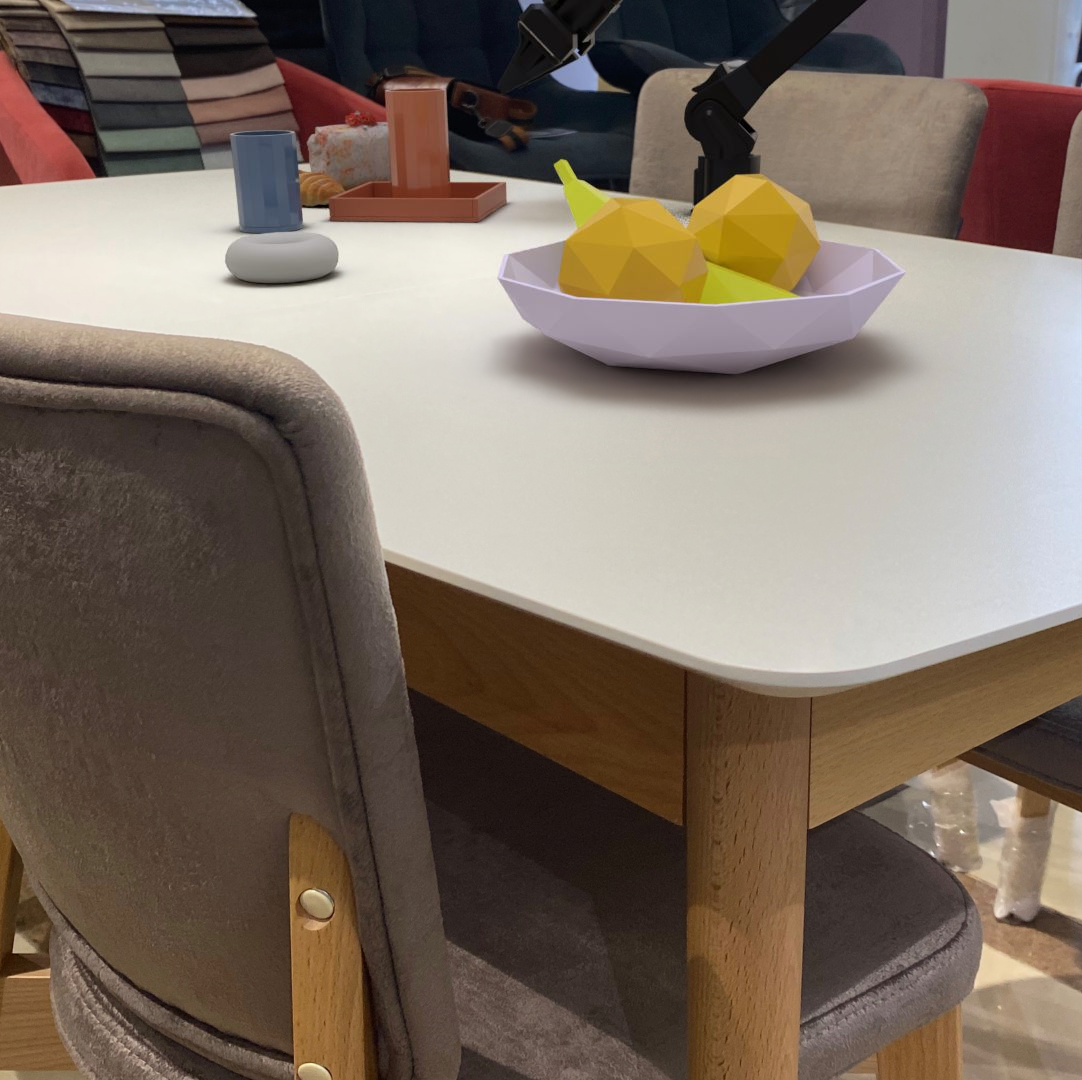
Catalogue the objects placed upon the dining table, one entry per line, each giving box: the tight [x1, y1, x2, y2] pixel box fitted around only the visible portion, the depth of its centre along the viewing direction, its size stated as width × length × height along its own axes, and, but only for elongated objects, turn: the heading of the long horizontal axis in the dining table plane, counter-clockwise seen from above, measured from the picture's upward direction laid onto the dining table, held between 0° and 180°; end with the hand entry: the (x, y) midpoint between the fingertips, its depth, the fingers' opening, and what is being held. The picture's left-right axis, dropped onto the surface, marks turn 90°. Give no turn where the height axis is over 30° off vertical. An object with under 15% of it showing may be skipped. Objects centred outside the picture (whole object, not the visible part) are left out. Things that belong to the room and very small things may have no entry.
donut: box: [224, 231, 340, 284], centre depth 115 cm, size 10×4×10 cm
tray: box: [328, 181, 508, 223], centre depth 151 cm, size 17×15×2 cm
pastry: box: [299, 169, 345, 208], centre depth 159 cm, size 9×7×4 cm
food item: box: [306, 110, 390, 191], centre depth 170 cm, size 14×8×10 cm, turn 110°
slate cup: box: [229, 129, 304, 234], centre depth 140 cm, size 7×7×10 cm
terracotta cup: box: [384, 87, 451, 198], centre depth 149 cm, size 7×7×13 cm
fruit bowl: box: [497, 158, 907, 376], centre depth 87 cm, size 28×27×11 cm
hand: (508, 88), depth 146 cm, fingers open, 9 cm apart
